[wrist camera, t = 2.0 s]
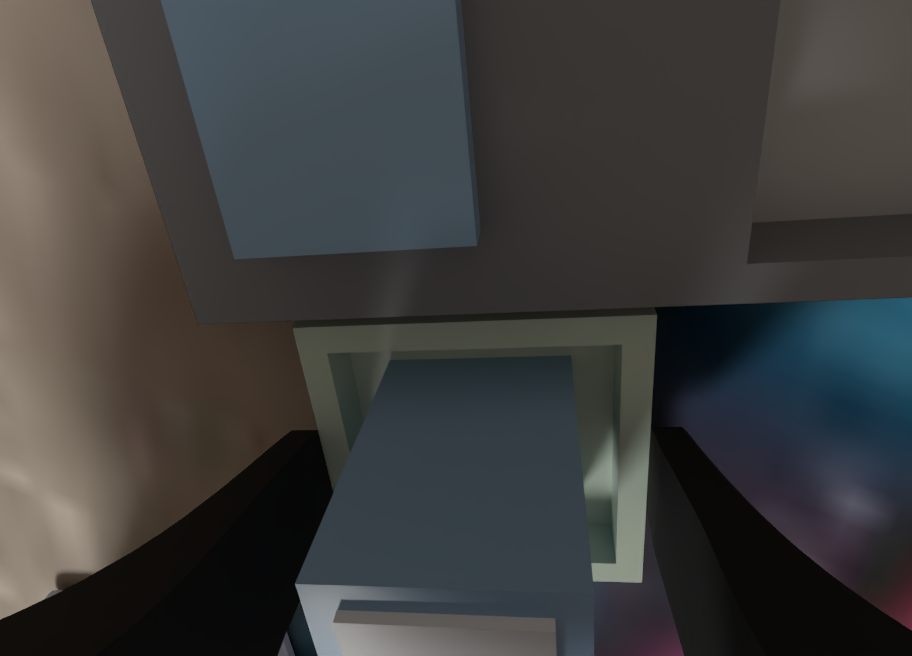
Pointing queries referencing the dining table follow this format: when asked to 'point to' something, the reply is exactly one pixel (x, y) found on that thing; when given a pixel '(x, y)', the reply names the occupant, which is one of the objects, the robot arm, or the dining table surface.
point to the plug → (458, 518)
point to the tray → (513, 335)
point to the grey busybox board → (521, 152)
